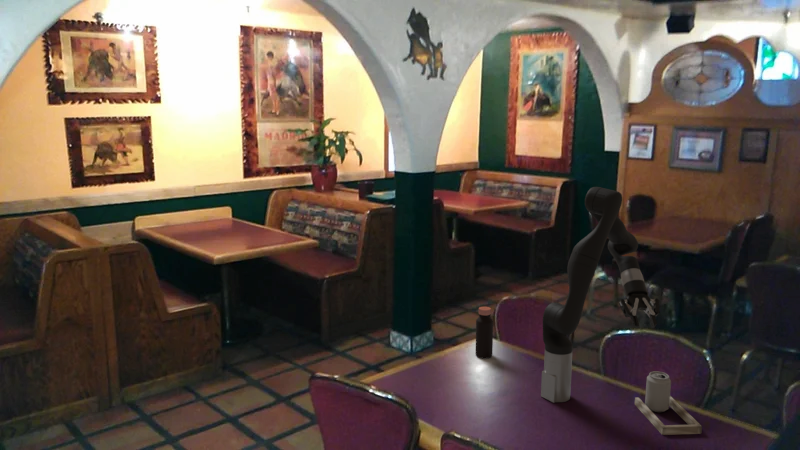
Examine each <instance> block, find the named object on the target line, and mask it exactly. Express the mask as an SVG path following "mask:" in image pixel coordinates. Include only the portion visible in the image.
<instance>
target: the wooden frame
mask: <svg viewBox="0 0 800 450" xmlns="http://www.w3.org/2000/svg"><path fill="white" fill-rule="evenodd" d="M634 406H635V407H636V408H637V409H638V410H639V411H640V412H641V413H642V415H644V417H645V418H646V419H647V420H648V421H649V423H651V424H652V426H654V428H655V429H656V430H657V431H658V432H659V433H660V434H661V435H662V436H668V435H669V436H673V435H698V434H699V435H702V431H703V426H702V425H701V424H700V423H699V422H698V421H697V420H696V419H695V418H694V417H693V416H692V415H691V414H690V413H689V412H688V411H687V410H686V409H685V408H684V407H683V406H681V405H680V404H679V403H678V401H677V400H675V399H674V398H673V397H672V396H671V395H670V400H669V408H671V409H672V410H673V411H674V412H675V413H676V414H677V415H678V416H679V417H680V418H681V419H682V420H683V421H684V422H685V424H669V425H667V424H666V425H665V424H664V423H663V421H661V420H660V418H658V416H657V415H656V414H655V413H654V411H651V410H650V409H649V408H648V407H647V406H646V405H645V402H643V400H642V399H641V398H640V397H634Z"/></svg>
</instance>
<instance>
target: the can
mask: <svg viewBox="0 0 800 450" xmlns="http://www.w3.org/2000/svg"><path fill="white" fill-rule="evenodd" d="M645 385H646V386H645V398H644V404H645V405H646V406H647V407H648V408H649V409H650V410H651V411H652V412H653V413H654V412H655V413H664V412H666V411H667V410H669V409H670V406H669V400H670V396H671V387H672V380H671V379H670V375H669V374H667V373H666V372H663V371H657V370H655V371H650V372H649V373H648V375H647V376H646V384H645Z"/></svg>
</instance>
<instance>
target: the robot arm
mask: <svg viewBox="0 0 800 450" xmlns="http://www.w3.org/2000/svg"><path fill="white" fill-rule="evenodd" d="M622 204H623V194H622V193H621V192H619V191H617V190H613V189H609V188H604V187H600V186H593V187H590V188H589V190H587V193H586V194H585V198H584V206H585V209H586V210H587V212H588V213H589V214H590V215H591V216H592V217H593V218H594V219H595V220H596V221H597V223H598V224H597V225H596V226H595V227H594V229H592V231H591V232H589V233H588V234H587V235H586V236H584V237H583V238H582V239H581V240H579V242H577V243H576V245H574V247H573V249H572V251H571V254H570V255H569V256H570V257H569V259H568V262H567V269H566V271H567V279H568V292H567V293H568V294H567V297H566V301H565V304H561V302H550V303H549V304H547V306H546V307H545V309H544V311H543V314H542V315H543V316H542V340H543V343H544V361H543V363H544V364H543V365H544V366H543V370H542V371H541V385H540V386H541V387H540V396H541V397H542V398H544V399H546V400H547V401H550V402H551V403H553V404H555V403H565V402H568V401H569V400H571V391H572V390H571V387H572V365H573V362H572V361H573V346H574V345H573V342H572V340H570V338H569V337H568V336H569V335H572V334H573V333H574V332H575V331H576V330H577V328H578V326H579V324H580V321H581V318H582V313H583V310H584V307H585V306H584V305H585V302H586V298H587V295H588V292H589V289H590V286H591V283H592V280H593V277H594V275H595V273H596V270H597V267H598V264H599V262H600V259H601V256H602V253H603V250H604V248H605V245H606V242H607V239H608V242H607V249H608V251H609V253H610V255H611V256H612V257H613V259H614V260H615V261H616V264H617V266H618V269H619V273H620V279H621V285H622V288H623V291H624V295H625V298H626V299H624V298H621V299H620V301H619V302H618V305H619V308H620V309H621V311H622V313H623V315H624V317H626V318H630V320H631V322H632V326H633V327H634V328H635V329H638V328H639V327H640V323H639V319H638V316H637V311H643V312H644V314H646V315H647V316H648V317H649V319H648V321H649V323H650V326H651V328H654V329H655V327H656V326H657V325H658V322H657V319H656V317H657V316H658V315H659V314H660V303H659V302H660V301H659V300H660V299H659V298H657V297H656V298H654V299H652V298H651V297H650V296H649V293H648V290H647V289H648V288H647V286H646V283H645V278H644V275H643V274H642V271H641V268H640V265H639V264H640V263H639V261H638V259H637V258H636V256H633V255H629V254H633V253H634V252H635V253H636V251H637V249H638V247H639V242H638V240H637V238H636V237H635V235H634V234H632V233H631V232H630V231H629V230H627V228H626V225H625V223H624V222H623V221H622V220H621V218H620V217H619V216H618V215H619V212H620V209H621V207H622ZM650 304H651V305H650ZM628 305H629V307H630V309H629V307H628Z"/></svg>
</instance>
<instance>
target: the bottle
mask: <svg viewBox="0 0 800 450" xmlns="http://www.w3.org/2000/svg"><path fill="white" fill-rule="evenodd" d="M491 315H492V308H491V307H489V306H479V307H478V317H477V318H476V319H475V356H476V357H477V358H479V359H490V358H491V357H493V350H494V349H493V346H494V345H493V344H494V343H493V341H494V339H493V338H494V320H493V318H492V317H491Z"/></svg>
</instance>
